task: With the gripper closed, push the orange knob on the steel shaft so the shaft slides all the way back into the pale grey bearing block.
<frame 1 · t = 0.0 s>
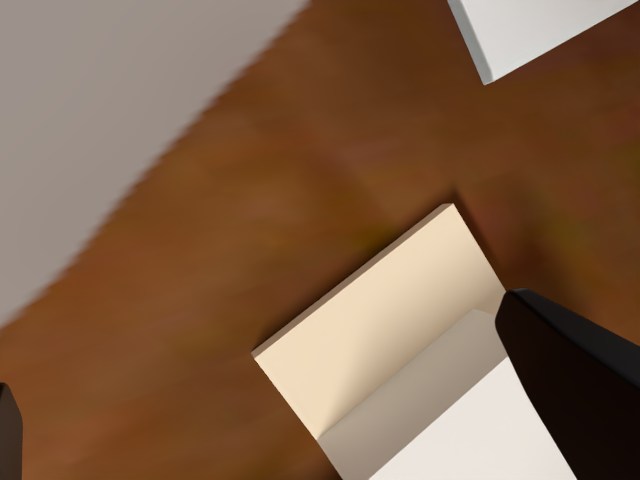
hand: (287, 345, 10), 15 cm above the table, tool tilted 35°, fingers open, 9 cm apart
bearing block: (400, 450, 27), on the table
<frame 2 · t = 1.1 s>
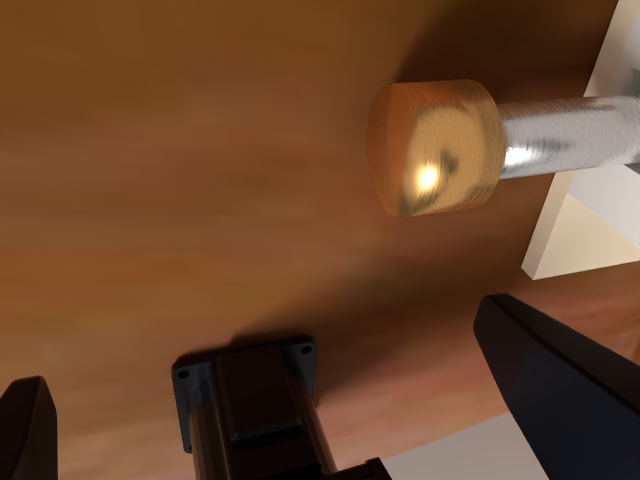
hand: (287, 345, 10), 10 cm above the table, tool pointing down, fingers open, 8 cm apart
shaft: (578, 133, 18), point 3 cm above the table, slide at 7.0 cm
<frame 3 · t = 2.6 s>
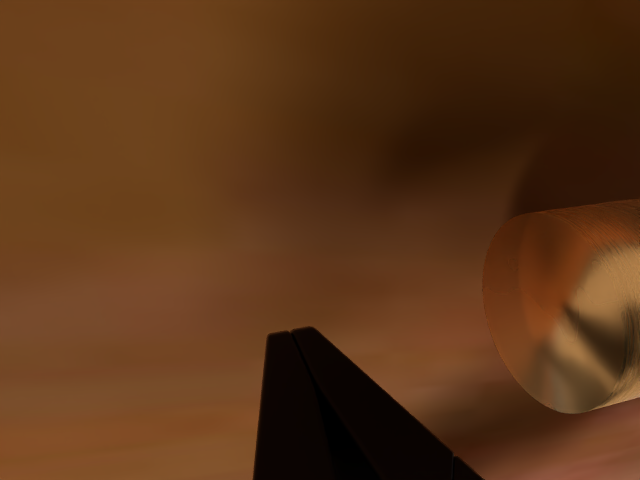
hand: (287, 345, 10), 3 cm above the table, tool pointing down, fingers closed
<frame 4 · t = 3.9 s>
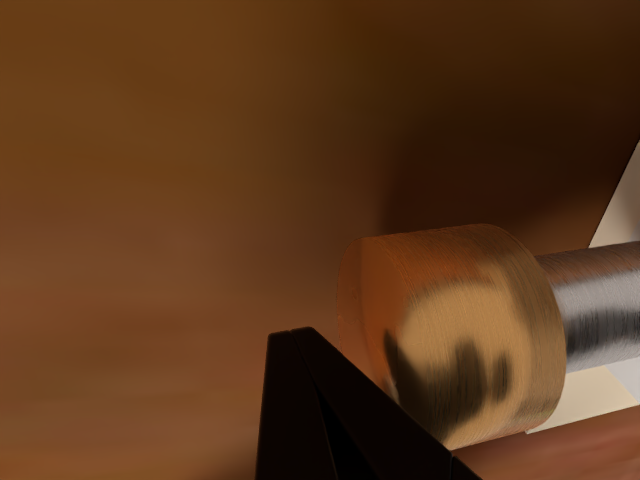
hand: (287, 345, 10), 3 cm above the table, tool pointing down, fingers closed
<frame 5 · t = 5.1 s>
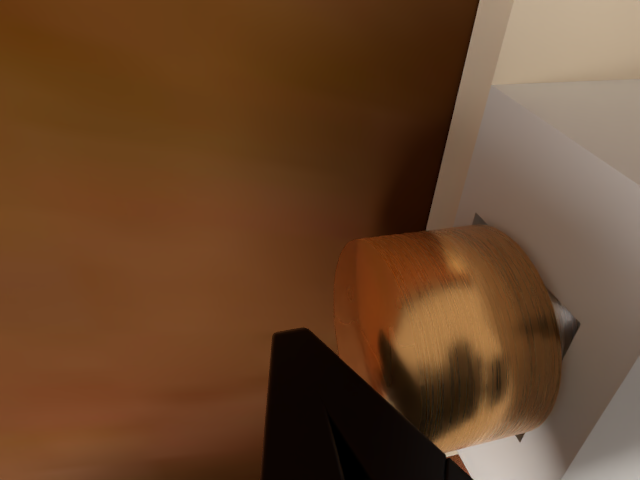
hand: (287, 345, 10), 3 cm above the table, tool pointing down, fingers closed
bearing block: (530, 218, 14), on the table
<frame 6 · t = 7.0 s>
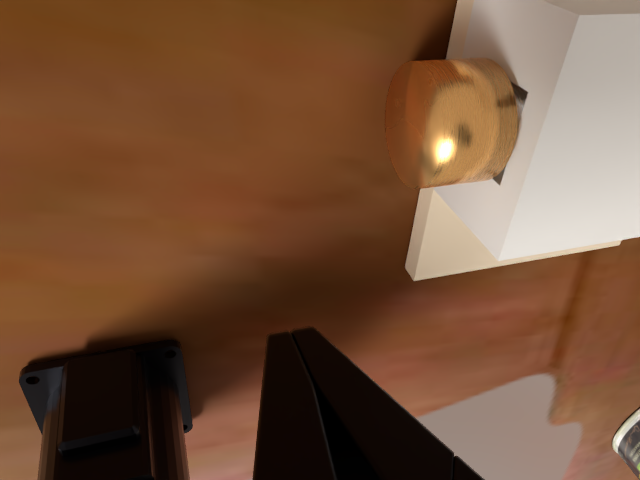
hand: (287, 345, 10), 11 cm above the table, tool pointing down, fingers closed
bearing block: (508, 81, 21), on the table
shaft: (586, 111, 19), point 3 cm above the table, slide at 0.0 cm
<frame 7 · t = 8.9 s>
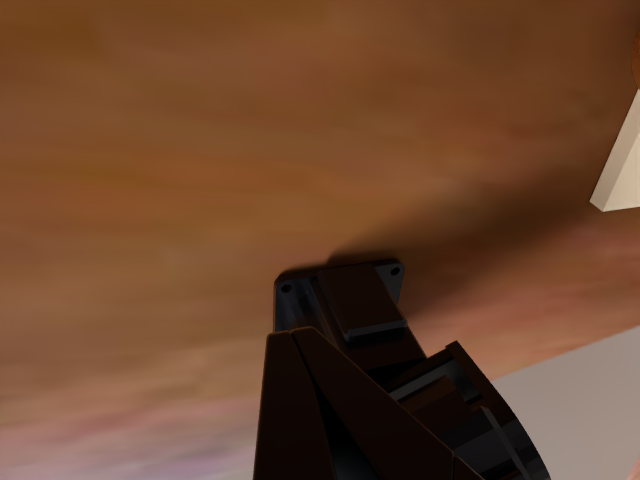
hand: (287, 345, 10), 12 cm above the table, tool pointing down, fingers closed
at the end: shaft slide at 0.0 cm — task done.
